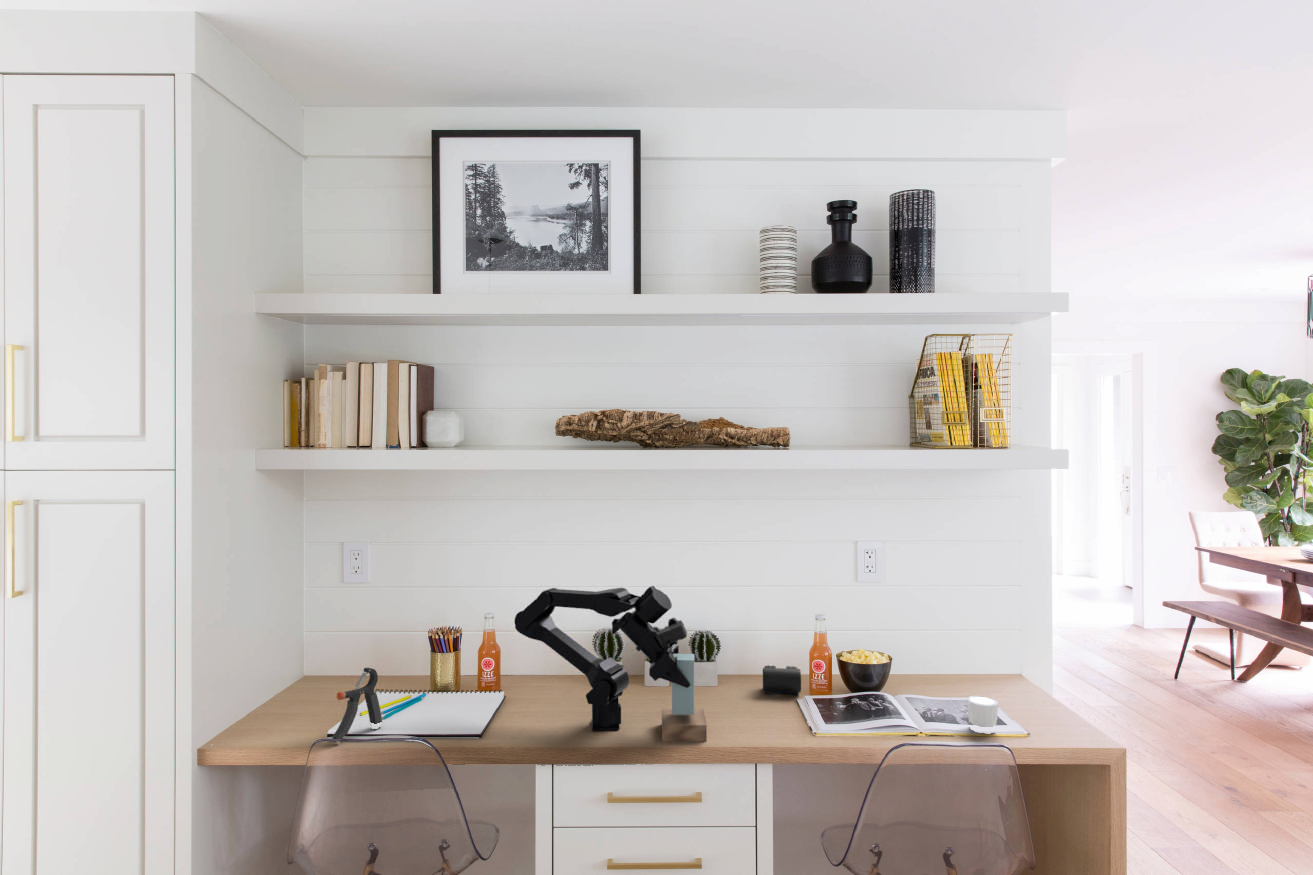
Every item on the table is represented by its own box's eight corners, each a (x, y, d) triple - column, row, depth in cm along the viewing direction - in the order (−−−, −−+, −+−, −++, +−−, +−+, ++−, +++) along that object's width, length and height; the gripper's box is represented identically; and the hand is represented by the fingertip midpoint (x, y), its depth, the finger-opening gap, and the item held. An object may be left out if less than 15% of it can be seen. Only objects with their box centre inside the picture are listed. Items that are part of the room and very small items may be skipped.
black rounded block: (762, 696, 199) (762, 671, 199) (762, 687, 206) (762, 663, 206) (801, 698, 198) (801, 672, 198) (799, 689, 205) (799, 664, 205)
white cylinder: (999, 727, 178) (1000, 698, 178) (996, 737, 172) (996, 707, 172) (968, 722, 181) (968, 693, 181) (964, 731, 175) (964, 701, 175)
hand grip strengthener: (330, 744, 169) (330, 678, 168) (376, 726, 179) (376, 663, 179) (336, 747, 167) (336, 679, 167) (383, 728, 178) (383, 664, 178)
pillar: (672, 714, 173) (672, 659, 173) (673, 706, 178) (673, 653, 178) (693, 714, 173) (694, 660, 173) (694, 706, 178) (694, 654, 178)
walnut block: (662, 742, 170) (662, 725, 170) (661, 725, 180) (661, 709, 180) (706, 742, 170) (706, 725, 170) (703, 725, 180) (703, 708, 180)
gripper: (664, 620, 166) (714, 671, 165) (668, 601, 185) (713, 647, 184) (628, 654, 167) (678, 706, 166) (636, 632, 185) (681, 678, 185)
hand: (689, 682), depth 175 cm, fingers closed on pillar, 5 cm apart
